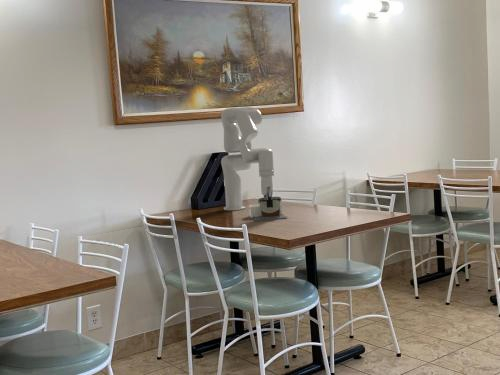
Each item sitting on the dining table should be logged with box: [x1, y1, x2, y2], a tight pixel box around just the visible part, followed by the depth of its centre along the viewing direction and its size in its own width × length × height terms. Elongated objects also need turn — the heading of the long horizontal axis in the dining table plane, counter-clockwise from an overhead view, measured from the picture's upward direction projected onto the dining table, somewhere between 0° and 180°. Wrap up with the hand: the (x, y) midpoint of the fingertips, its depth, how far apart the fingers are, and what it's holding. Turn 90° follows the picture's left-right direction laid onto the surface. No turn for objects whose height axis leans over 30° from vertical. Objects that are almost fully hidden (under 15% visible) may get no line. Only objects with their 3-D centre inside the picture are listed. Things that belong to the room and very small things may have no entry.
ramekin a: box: [248, 203, 262, 219], centre depth 336 cm, size 8×8×6 cm
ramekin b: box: [280, 203, 283, 215], centre depth 337 cm, size 8×8×6 cm
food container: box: [257, 196, 282, 218], centre depth 329 cm, size 12×6×10 cm, turn 98°
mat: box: [252, 213, 288, 222], centre depth 329 cm, size 12×16×1 cm
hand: (268, 206), depth 329 cm, fingers open, 9 cm apart
